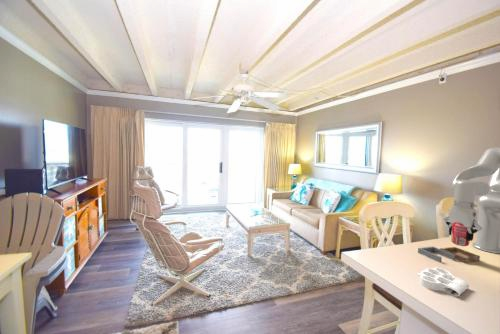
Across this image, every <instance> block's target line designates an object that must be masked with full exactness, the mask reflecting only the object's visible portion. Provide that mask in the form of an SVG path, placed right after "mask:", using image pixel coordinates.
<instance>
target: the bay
mask: <svg viewBox="0 0 500 334" xmlns="http://www.w3.org/2000/svg"><path fill="white" fill-rule="evenodd" d="M417 249H418V250H417V253H418V254H420V255H422V254H423V255H422V256H424V255H425V257H427V258H429V259H431V260H433V261H436V262H437V263H441V262H442V256H443V257H445V258H448V259H450V260H451V261H456V260H455V256H456V255H453V254H451V253H448V252H446V251H443V250H441V249H440V248H437V247H435V246H425V247H424V246H423V247H418V248H417ZM432 252H433V253H432ZM434 253H435V254H434Z"/></svg>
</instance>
